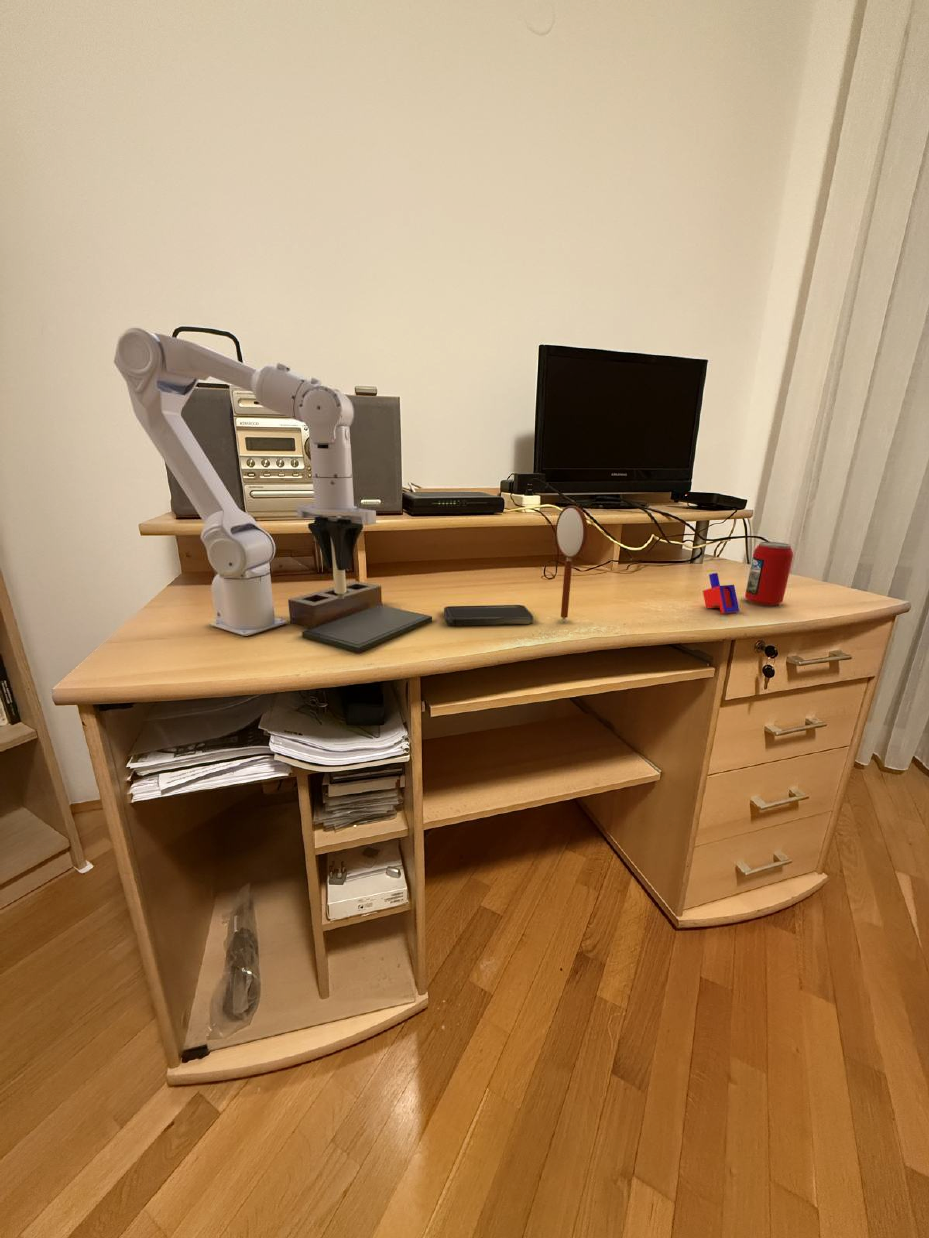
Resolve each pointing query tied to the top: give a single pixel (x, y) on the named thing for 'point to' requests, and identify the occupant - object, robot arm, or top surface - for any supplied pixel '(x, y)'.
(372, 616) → the tablet
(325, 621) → the pen stand
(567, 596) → the magnifying glass
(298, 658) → the top surface
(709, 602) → the toy building block
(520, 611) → the phone
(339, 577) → the stylus
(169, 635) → the top surface
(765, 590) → the beverage can
